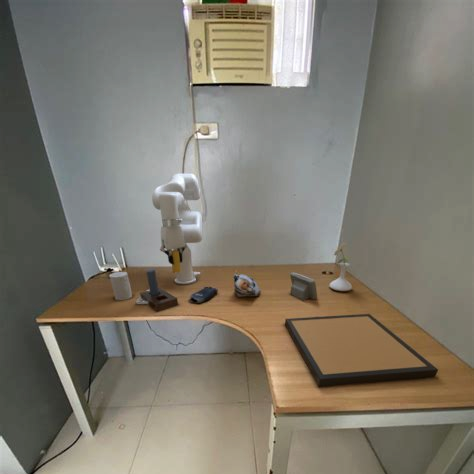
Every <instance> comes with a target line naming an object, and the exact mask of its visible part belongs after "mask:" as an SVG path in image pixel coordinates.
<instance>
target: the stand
mask: <svg viewBox="0 0 474 474" xmlns="http://www.w3.org/2000/svg"><path fill="white" fill-rule="evenodd" d="M148 290H149V291H147V290H145V291H142V292H139V295H140V297H141V298H140V299H142V300H141V301H143V300H144V301H145V302H148V304H147V305H148V306H149V307H150V308H151V309H153V310H154V311H155V312H160V311H163V310H167V309H170V308H174V307H175V306H178V305H179V302H178V297H176V296H174V295H173V294H171V292H170V293H169V292H168V291H166V290H164V289H163V288H162V287H158V290H159V294H157V295H154V296H152V295H151V294H150V289H148Z"/></svg>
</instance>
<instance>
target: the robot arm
mask: <svg viewBox="0 0 474 474" xmlns="http://www.w3.org/2000/svg"><path fill="white" fill-rule="evenodd" d="M201 195H202V194H201V188H200V183H199V181H198V177H197V176H196V175H195V174H194V173H175V174H172V176H171V177H170V179H169V180H168V182H166V183H164V184H161V185H158V186H157V187H156V188H155V189H154V191H153V193H152V197H151V200H152V201H151V202H152V205H153V207H154V208H155V209H156V210H160V215H161V222H162V223H161V224H162V226H161V227H160V242H161V243H160V244H161V246H160V248H159V251H160V252H162V253H164V254H165V255H166V256H167V260H168V263H169V264H170V265H172V264H174V262H173V256H172V250H178V251H179V257H180V266H181V272H178V273H175V274H176V277H175V278H174V283H175V284H177V285H190V284H193V283H195V282H197V276H201V272H200V271H198V272H197V271H194V270H193V261H192V251H191V248H190V247H189V246H188V244H198V243H201V241H202V240H203V229H204V227H203V226H204V225H203V223H204V222H203V215H202V213H201V212H200V211H197V210H191V208H190V207H189V205H188V204H187V203H186V202H185V201H198V200H200V198H201Z"/></svg>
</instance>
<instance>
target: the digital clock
mask: <svg viewBox="0 0 474 474" xmlns="http://www.w3.org/2000/svg"><path fill="white" fill-rule="evenodd" d="M289 275H290V280H291V281H290V282H291V286H290V295H291V296H294V297H296V298H298V299H300V300H302V301H303V300H307V299H312V300H316V299H318V291H317V285H316V280H315V279H314V278H310V277H308V276H305V275H302V274H300V273H297V272H290V273H289Z"/></svg>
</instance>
